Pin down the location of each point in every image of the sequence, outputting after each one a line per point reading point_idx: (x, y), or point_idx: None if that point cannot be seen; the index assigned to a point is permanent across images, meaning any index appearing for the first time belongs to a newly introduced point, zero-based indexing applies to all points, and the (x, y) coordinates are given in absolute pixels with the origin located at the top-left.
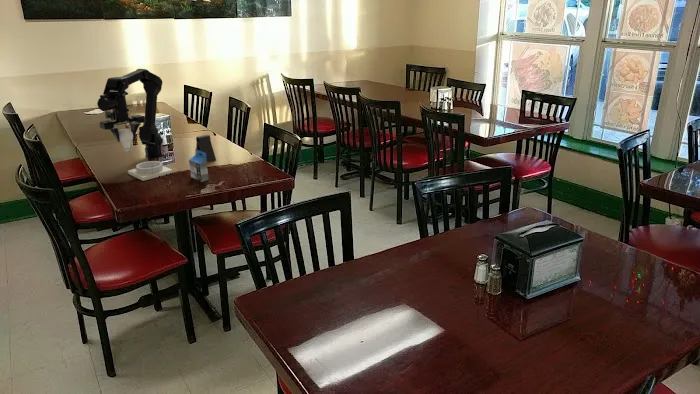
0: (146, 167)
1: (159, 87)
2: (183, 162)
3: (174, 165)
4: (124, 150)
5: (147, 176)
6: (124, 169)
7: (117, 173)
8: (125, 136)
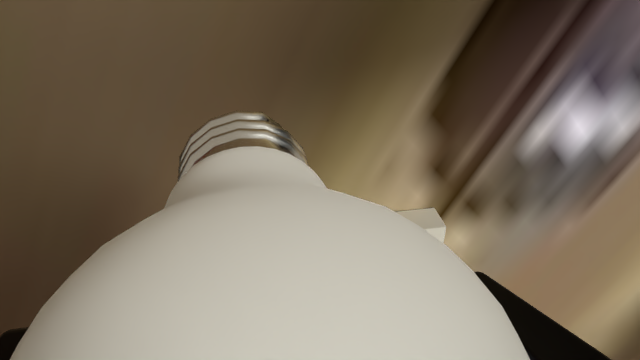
0: None
1: None
2: (621, 243)
3: (530, 267)
4: (180, 164)
5: None
6: (136, 79)
7: (23, 163)
8: None
